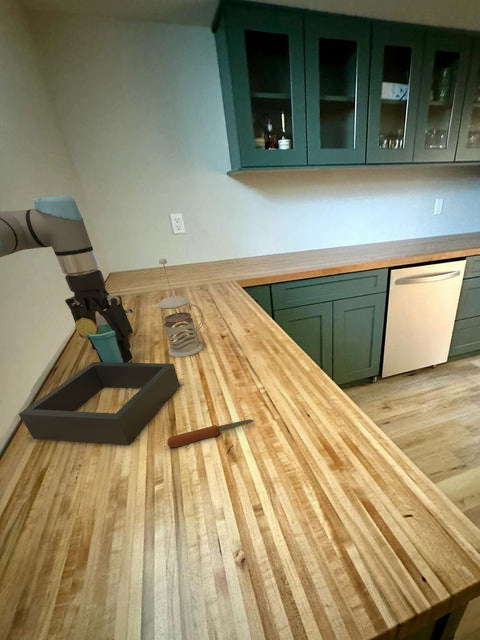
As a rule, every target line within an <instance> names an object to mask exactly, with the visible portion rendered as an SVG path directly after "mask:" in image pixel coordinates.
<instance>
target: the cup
mask: <svg viewBox="0 0 480 640" xmlns="http://www.w3.org/2000/svg"><path fill="white" fill-rule="evenodd" d="M124 310H125V313H126V314H127V313H133V309H132V308H131V309H130V308H124ZM74 323H75V325H74V326H75V327H74V328H75V329H74V330H76V332H77V331H78V332H79V333H80V335H81V336H85V337H89V338H91V340H92V342H93V344H94V346H95V348H96V350H97V351H98V353H99V355H100V357H101V359H102V361H103V362H118V363H124V361H123V358H122V356H121V353H120V350H119V348H118V345H117V342H116V339H117V338H118V337H117V336H116V333H115V331H113V330H112V329H111V327H110V326H109V324H105V325H101V326H97V325H96V324H95V323H94V322H93V321H92V320H90V319H86V318H81V319H80V320H78V321H76V322H75V321H74ZM96 350H95V351H96ZM127 363H129V362H127Z"/></svg>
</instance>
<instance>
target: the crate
mask: <svg viewBox="0 0 480 640" xmlns="http://www.w3.org/2000/svg"><path fill="white" fill-rule="evenodd" d="M180 387H181V384H180V380H179V377H178V374H177V370H176V367H175V364H174V363H166V362H165V363H163V362H161V363H160V362H128V363H118V362H100V361H92V362H91V363H89V364H88V365H87V366H85V367H84V368H82V369H81V370H80V371H78V372H77V373H75V374H73V375H72V376H71V377H69V378H68V379H67V380H64V381H63V382H62V383H60V384H59V385H58V386H56V387H54V389H52V390H51V391H50V392H47V393H46V394H45V395H44V396H42V397H41V398H39V399H38V400H36V401H35V402H33V403H32V404H30V405H29V406H28V407H26V408H25V409H23V410H22V411H20V412H19V413H18V416H19V417H20V419H21V421H22V422H23V424H24V426H25V427H26V429H27V431H28V432H29V434H30V436H31V437H32V439H33V440H44V441H62V442H77V443H88V444H89V443H91V444H105V445H106V444H107V445H119V446H130V445H131V444H132V443H133V441H135V439H136V438H137V437H138V435H139V434H140V433H141V432H142V431H143V430H144V428H146V426H147V425H148V424H149V423H150V422H151V420H152V419H153V418H154V417H155V416H156V415H157V414H158V413H159V411H160V410H162V408H163V407H164V405H165V404H166V403H167V402H168V401H169V400H170V399H171V398H172V396H173V395H174V394H175V393H176V392H177V390H179V388H180ZM103 388H118V389H119V388H121V389H139V390H138V391H137V392H136V393H135V394H134V395H133V396H132V397H131V398H130V399H129V400H128V401H127V402H126V403H125V404H123V406H121V407H120V408H119V410H117V411H116V412H115V413H114V412H96V411H95V412H94V411H77V410H79V408H80V407H82V406H83V405H84V404H85V403H87V402H88V401H89V400H90V399H91V398H93V397H94V396H95V395H96V394H97V393H99V392H100V391H101V390H102V389H103Z"/></svg>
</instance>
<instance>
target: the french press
mask: <svg viewBox="0 0 480 640" xmlns="http://www.w3.org/2000/svg"><path fill="white" fill-rule="evenodd" d="M158 264H159V265H163V268H164V272H165V276H166V280H167V284H168V288H169V291H170V296H168V297H165V298H163V299H162V300H160V301H159V303H158V304H157V307H158V308H159V309H161V310H175V311H174V313H171V314H169V315H166V316H165V317H164V318H163V321H164V324H163V326H164V329H165V333H166V336H167V340H168V344H169V347H170V348H169V349H168V351H167V354H168V355H169V356H171V357H175V358H183V357H189V356H191V355H195V354H197V353H199V352H200V351H202V350H203V348H204V344H203V343H201V342H200V340H199V335H198V331H199V330H200V329H201V328H202V327H203V325H204V321H205V317H204V313H203V311H202V310H201V308H200V307H199V306H198V305H196V304H194V303H191V302H190V299H189V298H188V297H186V296H181V295H173V293H172V289H171V285H170V281H169V277H168V273H167V270H166V266H165V264H168V262H167V259H166V258H160V259H159V261H158ZM189 302H190V303H189ZM187 305H188V308H189V310H190V311H192V307H194V308H196V309H197V310H199V313H200V315H201V316H200V317H201V319H200V323H199V324H198V325H197V326H196V327H195V322H194V320H193V318H192V317H191V316H192V314H191V313H190V312H181V311H180V312H177V309H179V308H182V307H185V306H187Z"/></svg>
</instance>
